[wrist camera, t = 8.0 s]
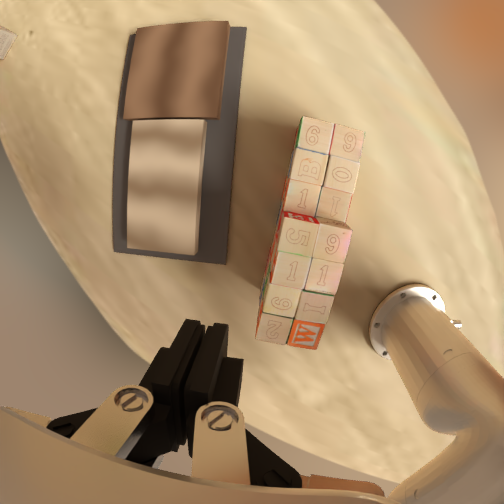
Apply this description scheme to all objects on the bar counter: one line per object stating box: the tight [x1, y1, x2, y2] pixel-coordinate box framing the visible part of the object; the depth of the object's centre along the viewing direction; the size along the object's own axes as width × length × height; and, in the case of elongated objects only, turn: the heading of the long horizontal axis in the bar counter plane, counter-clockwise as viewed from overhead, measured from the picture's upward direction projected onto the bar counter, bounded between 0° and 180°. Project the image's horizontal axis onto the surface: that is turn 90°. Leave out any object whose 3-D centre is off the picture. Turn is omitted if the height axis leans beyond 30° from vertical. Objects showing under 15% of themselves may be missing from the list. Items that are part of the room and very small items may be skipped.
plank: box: [127, 119, 207, 255], centre depth 35 cm, size 16×9×2 cm, turn 175°
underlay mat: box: [113, 27, 247, 265], centre depth 35 cm, size 16×31×1 cm, turn 175°
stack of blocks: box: [255, 116, 365, 350], centre depth 31 cm, size 21×6×12 cm, turn 169°
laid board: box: [123, 21, 230, 121], centre depth 31 cm, size 12×13×2 cm
